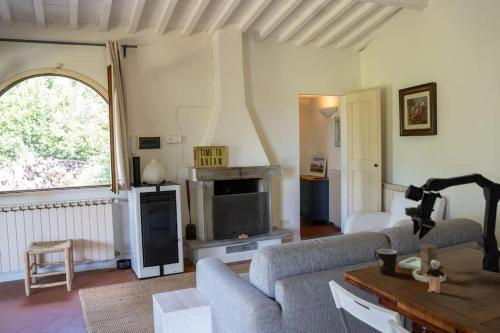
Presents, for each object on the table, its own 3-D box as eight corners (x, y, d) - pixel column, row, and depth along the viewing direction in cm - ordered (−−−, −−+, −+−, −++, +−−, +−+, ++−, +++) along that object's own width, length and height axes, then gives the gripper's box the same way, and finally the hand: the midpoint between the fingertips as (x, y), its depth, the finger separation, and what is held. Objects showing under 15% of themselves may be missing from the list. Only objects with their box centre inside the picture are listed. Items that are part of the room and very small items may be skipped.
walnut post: (430, 275, 177) (429, 244, 176) (437, 278, 173) (436, 246, 172) (420, 276, 176) (420, 245, 175) (427, 280, 172) (427, 247, 171)
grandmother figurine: (425, 292, 158) (424, 260, 157) (424, 289, 161) (424, 258, 160) (446, 294, 155) (446, 262, 154) (446, 291, 158) (445, 259, 158)
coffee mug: (400, 275, 178) (399, 253, 178) (380, 276, 178) (380, 254, 178) (391, 268, 190) (391, 247, 189) (373, 268, 190) (372, 247, 189)
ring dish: (450, 277, 173) (450, 273, 173) (435, 284, 166) (435, 279, 166) (422, 271, 183) (422, 267, 183) (408, 277, 175) (407, 273, 175)
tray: (440, 266, 189) (440, 262, 189) (425, 272, 181) (425, 268, 181) (413, 260, 200) (413, 256, 200) (398, 266, 192) (398, 262, 191)
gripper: (404, 197, 194) (394, 227, 196) (415, 202, 176) (404, 236, 177) (427, 203, 193) (417, 234, 195) (440, 210, 175) (429, 243, 176)
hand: (416, 236), depth 186 cm, fingers open, 9 cm apart
